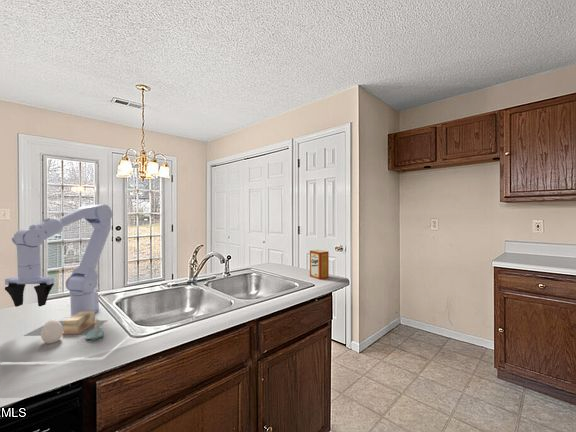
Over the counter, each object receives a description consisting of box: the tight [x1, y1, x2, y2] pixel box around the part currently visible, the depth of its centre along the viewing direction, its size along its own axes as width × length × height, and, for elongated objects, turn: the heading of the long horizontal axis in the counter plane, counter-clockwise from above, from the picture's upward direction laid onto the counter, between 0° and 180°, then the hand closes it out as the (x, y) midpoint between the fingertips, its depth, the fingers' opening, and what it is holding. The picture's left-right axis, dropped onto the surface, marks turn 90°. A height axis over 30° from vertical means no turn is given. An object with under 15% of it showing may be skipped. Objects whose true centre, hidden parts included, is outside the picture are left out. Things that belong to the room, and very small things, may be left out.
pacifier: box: [81, 319, 105, 343], centre depth 92 cm, size 7×6×6 cm
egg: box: [40, 319, 63, 345], centre depth 90 cm, size 5×5×7 cm
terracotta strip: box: [63, 320, 96, 334], centre depth 100 cm, size 10×6×1 cm, turn 1°
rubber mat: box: [23, 319, 108, 337], centre depth 100 cm, size 12×20×1 cm, turn 91°
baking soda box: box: [309, 249, 330, 280], centre depth 173 cm, size 10×6×16 cm
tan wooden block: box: [62, 311, 96, 333], centre depth 100 cm, size 9×4×4 cm, turn 2°
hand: (30, 305), depth 97 cm, fingers open, 7 cm apart
